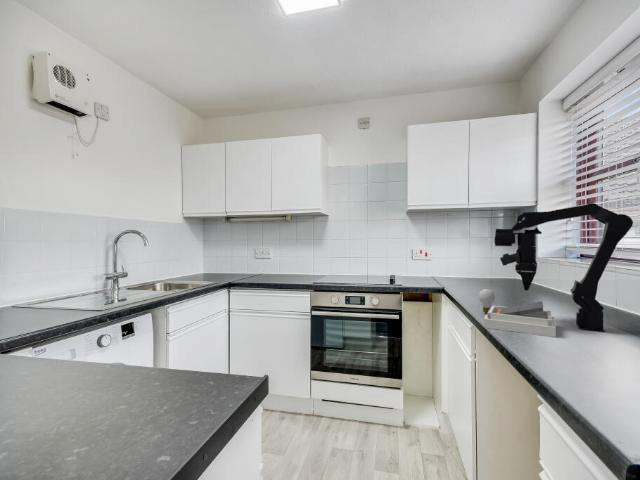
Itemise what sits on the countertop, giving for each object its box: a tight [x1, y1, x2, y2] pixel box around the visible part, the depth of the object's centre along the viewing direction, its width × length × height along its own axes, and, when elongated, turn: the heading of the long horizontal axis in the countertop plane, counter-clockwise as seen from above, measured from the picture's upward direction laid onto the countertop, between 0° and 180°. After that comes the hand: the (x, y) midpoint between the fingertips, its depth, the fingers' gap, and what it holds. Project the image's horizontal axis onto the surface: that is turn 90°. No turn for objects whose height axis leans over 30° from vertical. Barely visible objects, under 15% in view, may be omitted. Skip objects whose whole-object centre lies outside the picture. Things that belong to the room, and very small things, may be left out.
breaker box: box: [483, 305, 557, 338], centre depth 111 cm, size 20×16×5 cm
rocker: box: [496, 300, 544, 315], centre depth 111 cm, size 14×12×1 cm
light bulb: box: [478, 288, 496, 315], centre depth 130 cm, size 6×6×10 cm
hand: (526, 288), depth 118 cm, fingers open, 9 cm apart
